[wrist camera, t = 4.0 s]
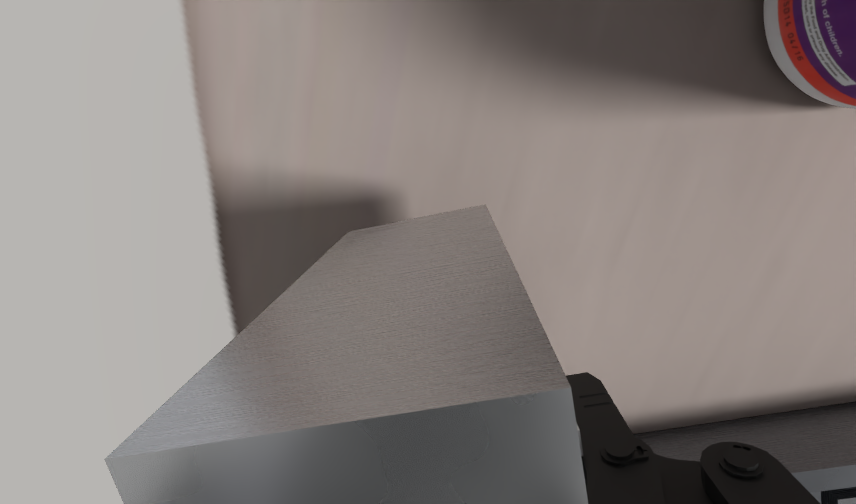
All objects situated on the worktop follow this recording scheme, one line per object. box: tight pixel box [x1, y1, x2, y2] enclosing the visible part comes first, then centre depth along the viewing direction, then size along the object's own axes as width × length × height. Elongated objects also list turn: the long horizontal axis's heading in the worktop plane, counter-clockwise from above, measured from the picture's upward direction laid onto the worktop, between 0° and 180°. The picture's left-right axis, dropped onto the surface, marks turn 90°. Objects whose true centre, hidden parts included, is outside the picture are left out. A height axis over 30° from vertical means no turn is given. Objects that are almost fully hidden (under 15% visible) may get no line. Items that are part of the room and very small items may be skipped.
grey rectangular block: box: [105, 204, 588, 504], centre depth 12 cm, size 10×5×12 cm, turn 12°
